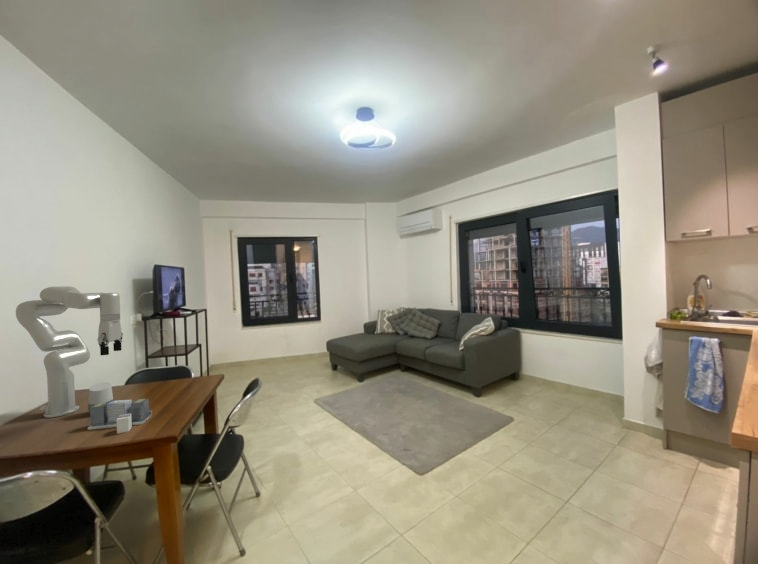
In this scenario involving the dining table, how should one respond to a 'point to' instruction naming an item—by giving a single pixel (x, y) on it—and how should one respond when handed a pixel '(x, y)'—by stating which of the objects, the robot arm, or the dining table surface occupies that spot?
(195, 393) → the dining table surface
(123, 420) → the block
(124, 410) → the medicine box
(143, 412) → the rail
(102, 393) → the smart speaker
